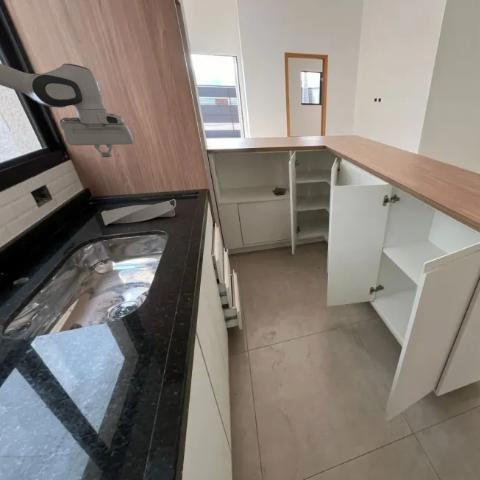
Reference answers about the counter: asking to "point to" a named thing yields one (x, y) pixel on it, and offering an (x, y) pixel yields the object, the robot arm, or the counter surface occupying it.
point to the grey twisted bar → (138, 213)
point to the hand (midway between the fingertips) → (107, 156)
